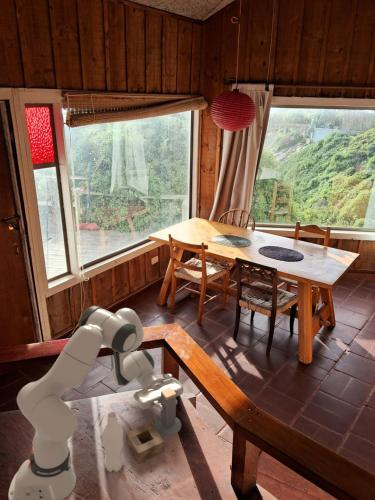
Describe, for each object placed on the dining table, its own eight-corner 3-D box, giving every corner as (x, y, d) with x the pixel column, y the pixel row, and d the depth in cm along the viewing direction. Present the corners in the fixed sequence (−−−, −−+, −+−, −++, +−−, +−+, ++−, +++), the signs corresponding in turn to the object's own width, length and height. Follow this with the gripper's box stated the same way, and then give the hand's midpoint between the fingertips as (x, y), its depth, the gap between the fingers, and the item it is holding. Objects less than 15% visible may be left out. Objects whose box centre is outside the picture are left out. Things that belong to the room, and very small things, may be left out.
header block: (138, 465, 153) (138, 453, 151) (126, 444, 162) (126, 433, 160) (164, 452, 159) (164, 441, 157) (151, 433, 168) (151, 422, 165)
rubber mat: (154, 437, 166) (154, 435, 165) (155, 417, 176) (155, 415, 176) (181, 437, 166) (181, 435, 166) (180, 416, 176) (180, 415, 176)
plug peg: (165, 428, 167) (166, 397, 161) (160, 421, 171) (160, 390, 165) (175, 424, 170) (176, 393, 164) (169, 416, 173) (170, 386, 167)
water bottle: (103, 475, 149) (99, 422, 140) (106, 458, 156) (103, 407, 146) (122, 475, 149) (121, 422, 140) (125, 458, 156) (123, 407, 147)
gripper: (131, 388, 170) (146, 409, 159) (173, 372, 181) (190, 391, 170) (131, 400, 173) (146, 421, 162) (173, 383, 183) (189, 403, 172)
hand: (169, 405), depth 166 cm, fingers closed on plug peg, 4 cm apart
